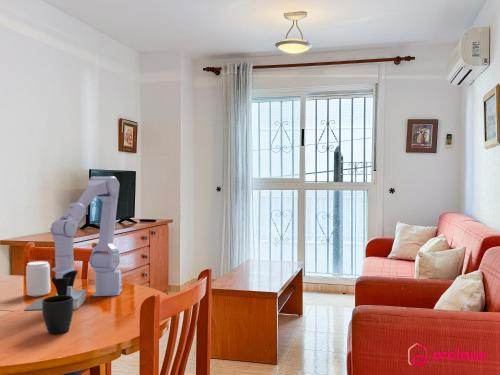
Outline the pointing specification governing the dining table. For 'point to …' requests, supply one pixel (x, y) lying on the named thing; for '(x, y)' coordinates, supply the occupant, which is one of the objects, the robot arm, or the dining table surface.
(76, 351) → the dining table surface
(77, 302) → the tub
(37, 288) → the beverage can
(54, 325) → the mug
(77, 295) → the lid
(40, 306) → the mat
